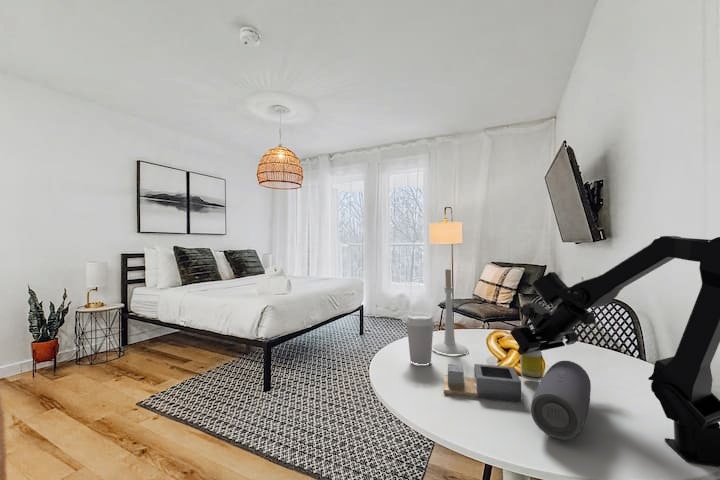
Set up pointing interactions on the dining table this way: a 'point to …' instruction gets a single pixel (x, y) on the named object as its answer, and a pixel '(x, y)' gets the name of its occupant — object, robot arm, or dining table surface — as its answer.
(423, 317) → the coffee cup
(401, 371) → the dining table surface
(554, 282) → the robot arm
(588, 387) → the bluetooth speaker
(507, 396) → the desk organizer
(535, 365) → the supplement bottle
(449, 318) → the candlestick
